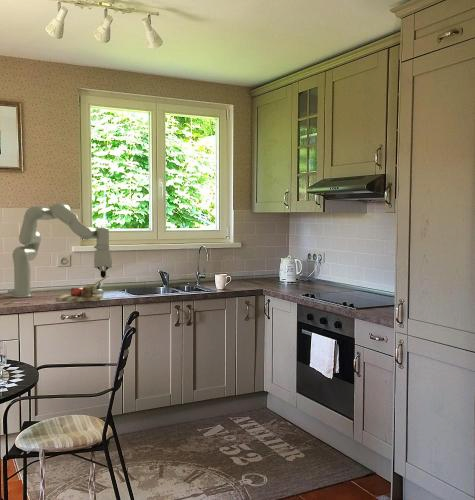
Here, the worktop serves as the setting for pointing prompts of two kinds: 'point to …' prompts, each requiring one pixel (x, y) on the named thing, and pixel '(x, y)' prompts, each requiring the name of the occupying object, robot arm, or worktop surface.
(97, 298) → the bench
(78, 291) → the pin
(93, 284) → the flap
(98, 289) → the hinge
